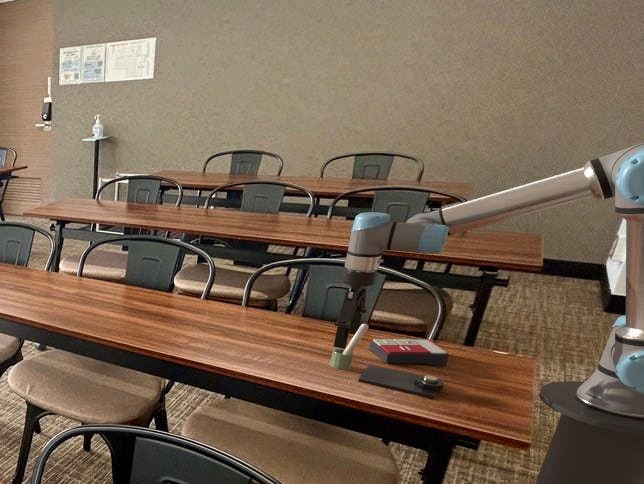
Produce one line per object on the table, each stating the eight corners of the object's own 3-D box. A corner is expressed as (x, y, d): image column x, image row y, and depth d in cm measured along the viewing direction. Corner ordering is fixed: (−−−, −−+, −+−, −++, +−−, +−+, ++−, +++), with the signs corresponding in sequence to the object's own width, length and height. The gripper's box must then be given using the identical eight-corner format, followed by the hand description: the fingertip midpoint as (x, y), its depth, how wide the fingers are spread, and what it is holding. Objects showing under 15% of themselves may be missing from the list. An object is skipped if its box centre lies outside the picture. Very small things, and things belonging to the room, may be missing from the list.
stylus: (343, 365, 169) (370, 324, 161) (341, 368, 168) (369, 326, 160) (336, 362, 170) (363, 321, 162) (334, 364, 169) (361, 323, 161)
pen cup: (351, 366, 169) (355, 351, 167) (347, 372, 166) (350, 356, 164) (332, 362, 172) (335, 347, 171) (327, 367, 169) (331, 352, 168)
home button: (437, 381, 153) (438, 377, 152) (435, 385, 151) (436, 380, 151) (423, 378, 155) (424, 374, 154) (421, 382, 153) (422, 377, 153)
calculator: (370, 337, 178) (428, 337, 173) (367, 350, 179) (425, 350, 175) (388, 351, 168) (450, 352, 164) (385, 365, 169) (447, 365, 165)
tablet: (445, 384, 155) (447, 376, 155) (437, 400, 148) (440, 391, 147) (368, 368, 167) (370, 360, 166) (357, 382, 160) (359, 374, 159)
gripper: (366, 282, 148) (350, 357, 156) (388, 261, 164) (372, 330, 171) (332, 277, 154) (317, 350, 161) (355, 258, 169) (341, 325, 176)
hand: (345, 340), depth 166 cm, fingers open, 13 cm apart
